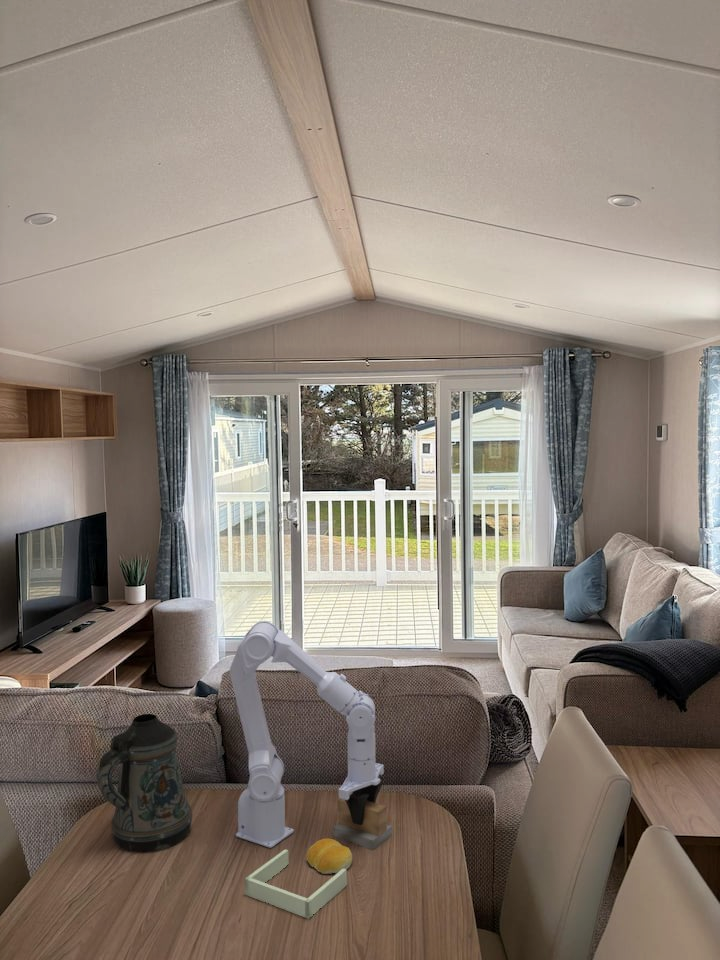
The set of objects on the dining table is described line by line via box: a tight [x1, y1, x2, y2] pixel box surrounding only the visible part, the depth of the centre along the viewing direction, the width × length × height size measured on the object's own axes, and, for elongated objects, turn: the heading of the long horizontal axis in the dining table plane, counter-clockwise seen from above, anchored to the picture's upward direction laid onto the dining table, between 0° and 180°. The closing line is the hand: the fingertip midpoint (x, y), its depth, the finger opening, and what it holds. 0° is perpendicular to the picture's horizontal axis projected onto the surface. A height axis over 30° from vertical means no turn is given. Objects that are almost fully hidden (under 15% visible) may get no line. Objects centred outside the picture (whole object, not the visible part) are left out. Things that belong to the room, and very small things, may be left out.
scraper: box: [332, 798, 393, 851], centre depth 167 cm, size 10×7×7 cm
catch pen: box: [244, 849, 348, 920], centre depth 148 cm, size 14×12×3 cm
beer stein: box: [96, 713, 193, 854], centre depth 167 cm, size 16×19×25 cm
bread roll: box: [306, 838, 353, 875], centre depth 157 cm, size 8×9×4 cm
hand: (362, 819), depth 167 cm, fingers closed on scraper, 3 cm apart
